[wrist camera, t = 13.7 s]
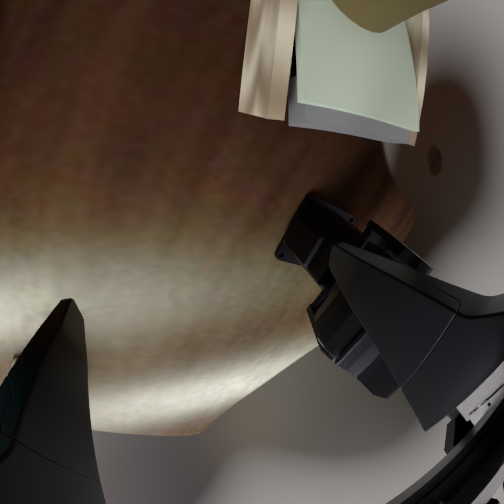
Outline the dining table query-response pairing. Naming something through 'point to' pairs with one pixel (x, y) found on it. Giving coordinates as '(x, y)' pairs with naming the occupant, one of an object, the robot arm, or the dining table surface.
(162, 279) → the dining table surface
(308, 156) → the dining table surface
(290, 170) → the dining table surface
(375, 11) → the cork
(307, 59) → the light piece
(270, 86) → the trapdoor frame
